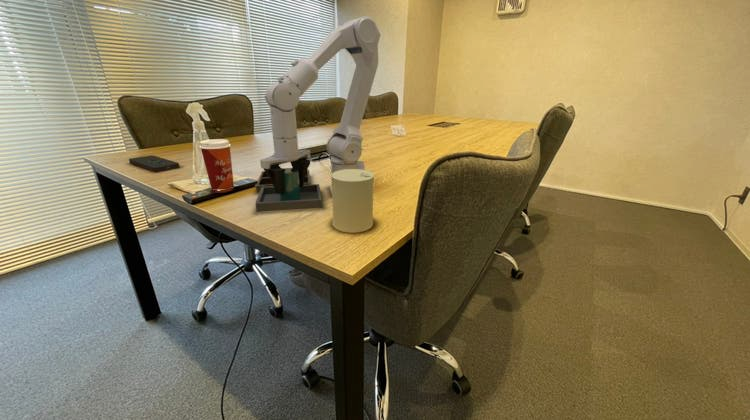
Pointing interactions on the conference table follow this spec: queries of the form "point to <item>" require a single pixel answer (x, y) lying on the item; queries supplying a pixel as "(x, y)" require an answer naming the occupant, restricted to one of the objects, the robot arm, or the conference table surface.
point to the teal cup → (291, 185)
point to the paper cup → (218, 163)
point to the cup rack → (266, 181)
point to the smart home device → (154, 163)
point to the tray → (271, 200)
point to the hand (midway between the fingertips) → (290, 189)
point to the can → (352, 200)
